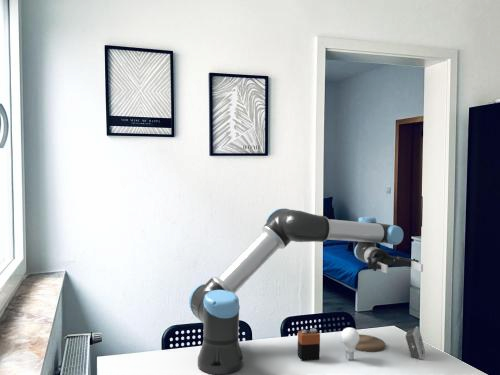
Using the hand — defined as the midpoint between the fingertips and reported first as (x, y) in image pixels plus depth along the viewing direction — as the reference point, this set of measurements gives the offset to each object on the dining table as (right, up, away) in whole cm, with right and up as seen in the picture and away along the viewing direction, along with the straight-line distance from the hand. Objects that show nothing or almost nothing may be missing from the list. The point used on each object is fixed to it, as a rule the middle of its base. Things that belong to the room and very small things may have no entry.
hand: (404, 268), depth 152 cm
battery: (-35, -31, -4) cm, 47 cm away
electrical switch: (+4, -31, +1) cm, 32 cm away
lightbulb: (-21, -31, -4) cm, 37 cm away
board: (-11, -31, +10) cm, 34 cm away
